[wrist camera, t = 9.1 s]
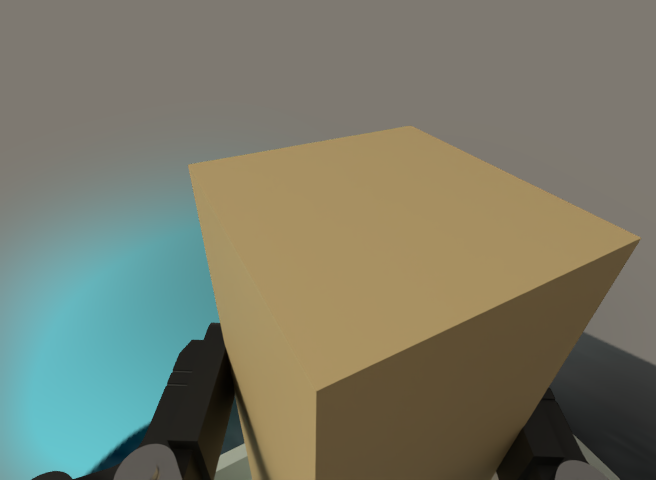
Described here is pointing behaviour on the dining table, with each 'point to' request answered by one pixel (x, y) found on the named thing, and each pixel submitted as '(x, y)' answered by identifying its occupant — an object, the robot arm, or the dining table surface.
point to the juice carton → (393, 303)
